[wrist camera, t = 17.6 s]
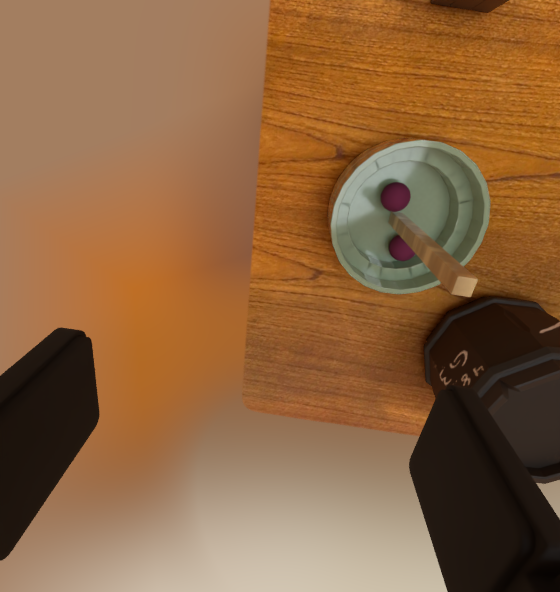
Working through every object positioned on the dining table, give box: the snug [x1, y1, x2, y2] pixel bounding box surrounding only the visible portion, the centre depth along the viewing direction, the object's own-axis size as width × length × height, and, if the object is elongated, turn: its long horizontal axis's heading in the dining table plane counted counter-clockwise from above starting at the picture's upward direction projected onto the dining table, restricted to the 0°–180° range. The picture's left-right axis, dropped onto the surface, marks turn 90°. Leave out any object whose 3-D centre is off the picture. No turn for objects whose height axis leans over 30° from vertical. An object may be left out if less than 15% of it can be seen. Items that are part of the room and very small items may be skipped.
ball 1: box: [381, 182, 411, 212], centre depth 40 cm, size 3×3×3 cm
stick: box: [388, 211, 478, 297], centre depth 33 cm, size 1×1×20 cm
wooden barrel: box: [424, 296, 560, 484], centre depth 43 cm, size 18×18×16 cm
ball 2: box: [389, 235, 415, 261], centre depth 42 cm, size 3×3×3 cm
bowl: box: [327, 138, 490, 294], centre depth 40 cm, size 16×16×6 cm
